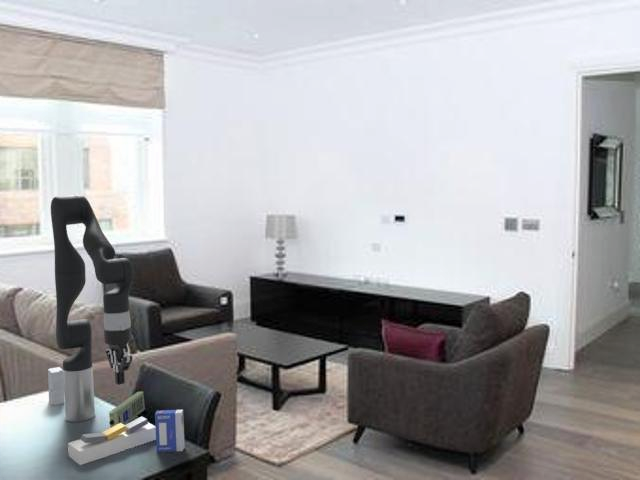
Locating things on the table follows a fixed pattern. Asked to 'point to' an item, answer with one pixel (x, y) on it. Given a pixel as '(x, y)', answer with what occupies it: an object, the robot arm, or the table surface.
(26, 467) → the table surface
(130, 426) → the block
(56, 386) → the skincare box
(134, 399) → the handheld radio
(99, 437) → the grey flat block
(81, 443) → the power strip
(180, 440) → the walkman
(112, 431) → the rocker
